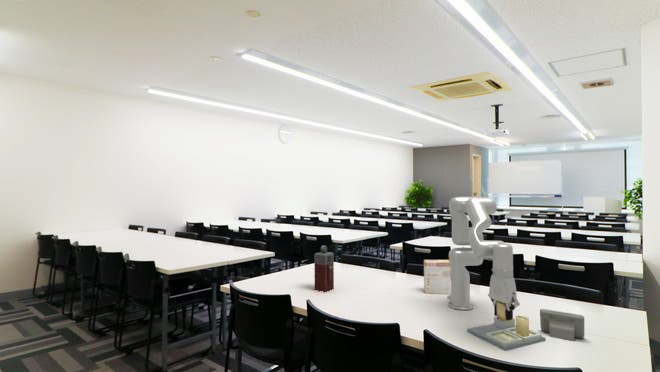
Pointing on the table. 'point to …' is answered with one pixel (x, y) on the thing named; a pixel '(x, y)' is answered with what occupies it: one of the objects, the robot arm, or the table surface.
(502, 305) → the cylinder
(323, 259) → the square decanter bottle
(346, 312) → the table surface
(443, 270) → the coffeecake box
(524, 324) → the station
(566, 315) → the digital clock
